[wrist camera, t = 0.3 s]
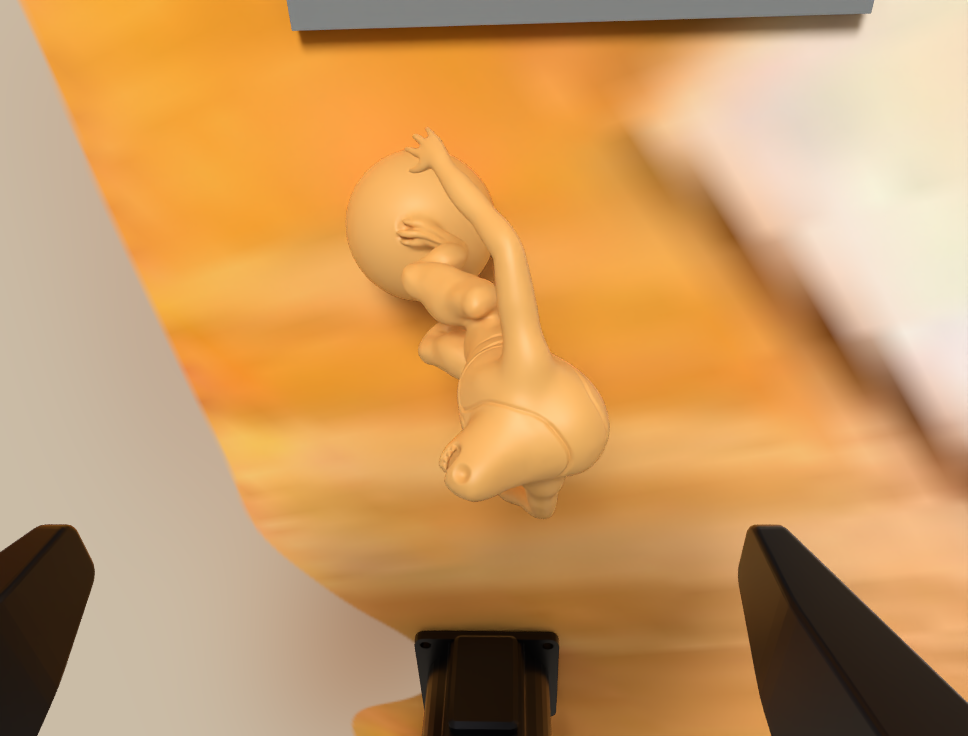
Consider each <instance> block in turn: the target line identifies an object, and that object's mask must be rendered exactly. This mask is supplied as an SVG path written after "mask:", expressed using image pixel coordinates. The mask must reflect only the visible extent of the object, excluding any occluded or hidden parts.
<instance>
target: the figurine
mask: <svg viewBox="0 0 968 736" xmlns="http://www.w3.org/2000/svg"><path fill="white" fill-rule="evenodd" d="M425 130H426V132H427V134H428V137H427V138H423V137H422V136H420V135H418V134H413V138H414V139H415V140H416V141H417V142H418V143H419V144H420V146H419V148H412V147H406V148H405V150H402V151H398V152H395V153H393V154H390V155H388V156H386V157H384V158H382V159H381V160H379V161H378V162H376V163H375V164H374V165H373V166H371V167H370V168H369V169H368V170H367V171H366V172H365V173H364V175H363V176H362V177H361V178H360V180H359V181H358V183H357V184H356V186H355V188H354V190H353V192H352V194H351V197H350V200H349V203H348V207H347V213H346V234H347V240H348V244H349V247H350V250H351V253H352V255H353V257H354V259H355V261H356V263H357V265H358V266H359V268H360V269H361V271H362V272H363V273H364V274H365V275H366V277H367V278H368V279H369V280H370V281H372V282H373V283H374V284H375V285H376V286H378V287H379V288H381V289H382V290H384V291H385V292H387V293H389V294H391V295H394V296H396V297H399V298H402V299H406V300H412V301H420V302H421V303H422V304H423V305H424V307H425V308H426V309H427V311H428V312H429V314H430V315H431V316H432V317H433V318H434V319H435V320H437V321H438V323H437V324H435V325H434V326H433V327H432V328H431V329H430V330H429V331H428V332H427V333H426V334H425V336H424V337H423V339H422V340H421V342H420V344H419V348H418V353H419V356H420V358H421V359H422V360H423V361H424V362H425V363H427V364H430V365H434V366H437V367H438V368H440V369H442V370H443V371H445V372H447V373H448V374H450V375H451V376H453V377H455V378H457V379H459V383H458V390H457V400H458V408H459V417H460V422H461V426H462V429H463V430H462V431H461V432H460V433H459V434H458V435H457V436H456V437H455V438H454V439H453V440H452V441H451V442H450V443H449V444H448V445H447V446H446V447H445V449H444V450H443V452H442V454H441V457H440V460H439V466H440V467H441V468H442V470H443V471H444V472H447V473H446V475H445V479H444V482H445V484H446V486H447V487H448V489H449V490H450V491H451V492H453V493H454V494H455V495H457V496H458V497H460V498H463V499H465V500H468V501H472V502H478V501H483V500H486V499H489V498H492V497H494V496H496V495H499V496H500V497H501V498H502V499H504V500H505V501H507V502H510V503H513V504H516V505H519V506H521V507H522V508H523V509H524V510H525V511H527V512H528V513H529V514H530V515H532V516H533V517H535V518H538V519H547V518H549V517H551V516H552V515H553V513H554V511H555V509H556V504H557V499H558V492H559V490H560V489H561V487H562V485H563V483H564V480H565V477H566V476H571V475H576V474H579V473H582V472H584V471H586V470H587V469H589V468H590V467H591V466H592V465H593V464H594V463H595V462H596V461H597V460H598V459H599V457H600V456H601V454H602V453H603V451H604V448H605V446H606V443H607V441H608V436H609V417H608V412H607V409H606V406H605V403H604V401H603V399H602V397H601V395H600V393H599V391H598V390H597V388H596V387H595V386H594V385H593V383H592V382H591V381H590V380H589V379H588V378H587V377H586V376H585V375H584V374H583V373H582V372H580V371H579V370H578V369H577V368H575V367H574V366H573V365H571V364H570V363H568V362H566V361H565V360H563V359H561V358H560V357H558V356H556V355H554V354H552V353H550V350H549V348H548V345H547V343H546V341H545V338H544V336H543V333H542V330H541V326H540V321H539V314H538V308H537V303H536V298H535V293H534V289H533V284H532V279H531V275H530V270H529V266H528V262H527V258H526V255H525V251H524V248H523V245H522V243H521V241H520V239H519V237H518V235H517V233H516V232H515V230H514V229H513V227H512V226H511V224H510V223H509V222H508V221H507V220H506V219H505V218H504V217H503V216H502V215H501V214H500V213H499V212H498V211H497V210H496V209H495V208H494V204H493V201H492V198H491V196H490V194H489V191H488V189H487V188H486V186H485V184H484V183H483V181H482V180H481V179H480V177H479V176H478V175H477V174H476V173H475V172H474V171H473V170H472V169H471V168H470V167H469V166H468V165H467V164H465V163H464V162H463V161H461V160H459V159H458V158H456V157H454V156H452V155H450V154H449V153H448V151H447V149H446V147H445V146H444V144H443V142H442V140H441V139H440V138H439V137H438V136H437V135H436V134H435V133H434V132H433V131H432V130H431V129H430V128H428V127H426V128H425ZM490 256H492V258H493V262H494V274H495V285H494V284H493V283H492V282H490V281H488V280H486V279H483V278H480V277H478V275H479V274H480V273H481V272H482V270H483V269H484V267H485V266H486V264H487V262H488V260H489V258H490Z"/></svg>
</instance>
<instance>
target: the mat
mask: <svg viewBox="0 0 968 736" xmlns="http://www.w3.org/2000/svg"><path fill="white" fill-rule="evenodd" d="M873 3H874V0H287V5H288V10H289V16H290V22H291V28H292V31H299V30H332V29H366V28H399V27H433V26H466V25H500V24H533V23H567V22H601V21H634V20H668V19H701V18H735V17H768V16H802V15H835V14H869V13H871V11H872V7H873Z"/></svg>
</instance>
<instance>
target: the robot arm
mask: <svg viewBox="0 0 968 736" xmlns="http://www.w3.org/2000/svg"><path fill="white" fill-rule="evenodd" d="M94 575H95V569H94V564H93V562H92V559H91V558H90V555H89V553H88V551H87V549H86V547H85V545H84V543H83V542H82V539H81V538H80V535H79V534H78V532H77V530H76V529H75V528H74V527H73V526H71V525H66V524H65V525H64V524H63V525H62V524H59V525H57V524H56V525H53V524H51V525H50V524H48V525H40V526H38V527H36V528H34V529H33V530H31V531H30V532H28V533H27V534H26V535H24V536H23V537H21V538H20V539H19V540H17V541H15V542H14V543H12V544H11V545H10V546H8V547H7V548H5V549H4V550H2V551H1V552H0V736H37V735H38V733H39V731H40V728H41V726H42V724H43V722H44V719H45V717H46V715H47V713H48V710H49V708H50V706H51V704H52V701H53V699H54V696H55V694H56V692H57V689H58V687H59V684H60V681H61V678H62V676H63V673H64V670H65V667H66V664H67V661H68V658H69V655H70V652H71V649H72V646H73V643H74V640H75V637H76V634H77V631H78V628H79V625H80V622H81V619H82V616H83V613H84V610H85V606H86V603H87V600H88V597H89V595H90V591H91V588H92V585H93V582H94ZM738 582H739V588H740V594H741V599H742V605H743V610H744V615H745V621H746V626H747V631H748V637H749V642H750V648H751V653H752V658H753V664H754V669H755V674H756V680H757V684H758V689H759V694H760V698H761V702H762V705H763V709H764V713H765V716H766V720H767V723H768V726H769V729H770V733H771V736H968V702H966V701H965V700H964V699H963V698H962V697H961V696H960V695H959V694H958V693H957V692H956V691H955V690H954V689H953V688H952V687H951V686H950V685H949V684H948V683H947V682H946V681H945V680H944V679H943V678H942V677H940V676H939V675H938V674H937V673H936V672H935V671H934V670H933V669H932V668H931V667H930V666H929V665H928V664H927V663H926V662H925V661H924V660H923V659H922V658H921V657H920V656H919V655H918V654H917V653H916V652H914V651H913V650H912V649H911V648H910V647H909V646H908V645H907V644H906V643H905V642H904V641H903V640H902V639H901V638H900V637H899V636H898V635H897V634H896V633H895V632H894V631H893V630H892V629H891V628H890V627H888V626H887V625H886V624H885V623H884V622H883V621H882V620H881V619H880V618H879V617H878V616H877V615H876V614H875V613H874V612H873V611H872V610H871V609H870V608H869V607H868V606H867V605H866V604H865V603H864V602H862V601H861V600H860V599H859V598H858V597H857V596H856V595H855V594H854V593H853V592H852V591H851V590H850V589H849V588H848V587H847V586H846V585H845V584H844V583H843V582H842V581H841V580H840V579H839V578H838V577H836V576H835V575H834V574H833V573H832V572H831V571H830V570H829V569H828V568H827V567H826V566H825V565H824V564H823V563H822V562H821V561H820V560H819V559H818V558H817V557H816V556H815V555H814V554H813V553H812V552H810V551H809V550H808V549H807V548H806V547H805V546H804V545H803V544H802V543H801V542H800V541H799V540H798V539H797V538H796V537H795V536H794V535H793V534H792V533H791V532H790V531H789V530H788V529H786V528H785V527H783V526H781V525H752V526H751V527H750V528H749V529H748V531H747V534H746V538H745V542H744V546H743V550H742V554H741V558H740V562H739V567H738ZM415 652H416V658H417V665H418V671H419V678H420V684H421V691H422V698H423V704H424V721H423V731H422V736H551V716H553V715H555V713H556V703H557V681H558V659H559V638H558V636H557V635H556V634H555V633H552V632H506V631H421V632H419V633H417V634H416V637H415Z"/></svg>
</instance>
